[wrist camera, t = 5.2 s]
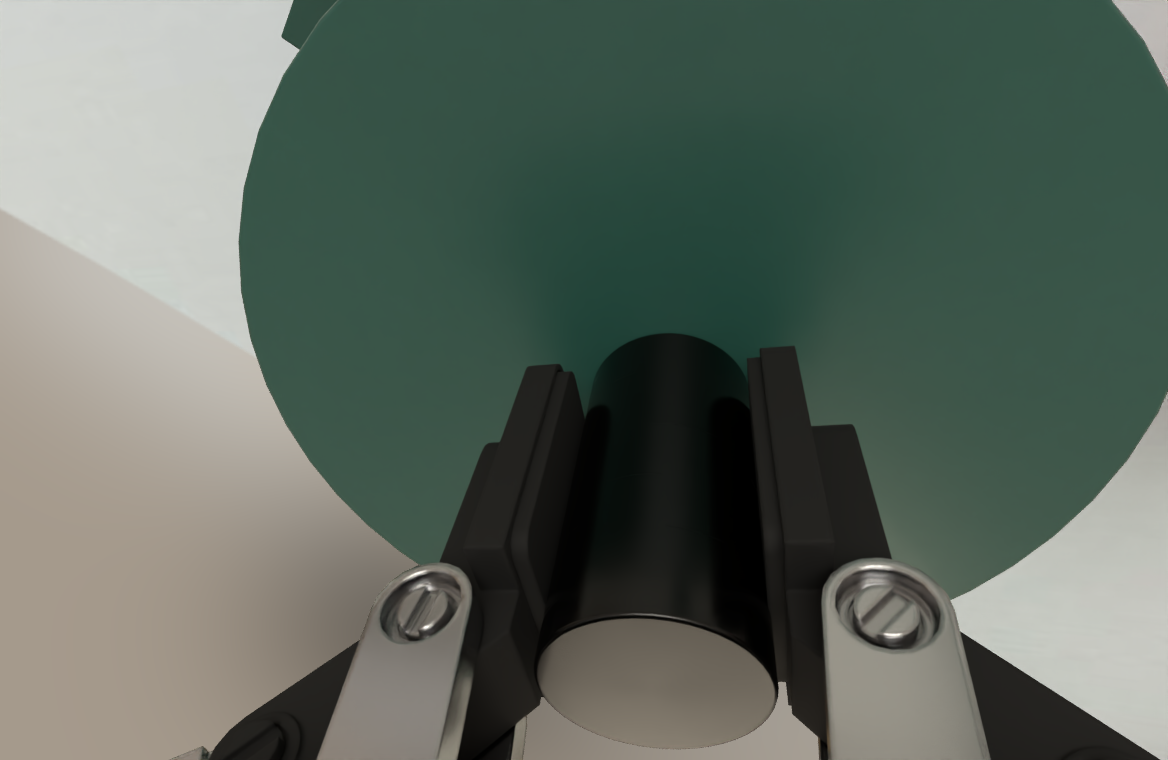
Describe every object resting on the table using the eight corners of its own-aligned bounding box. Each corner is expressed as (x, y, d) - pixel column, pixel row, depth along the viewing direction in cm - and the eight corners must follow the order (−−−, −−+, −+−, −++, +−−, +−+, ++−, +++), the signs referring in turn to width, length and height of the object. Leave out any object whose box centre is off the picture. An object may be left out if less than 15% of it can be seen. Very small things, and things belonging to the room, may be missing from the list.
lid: (540, -548, 7) (-23, -2065, 2) (1384, 301, 11) (2071, 726, 5) (185, 400, 16) (-82, 670, 10) (717, 681, 19) (725, 986, 14)
